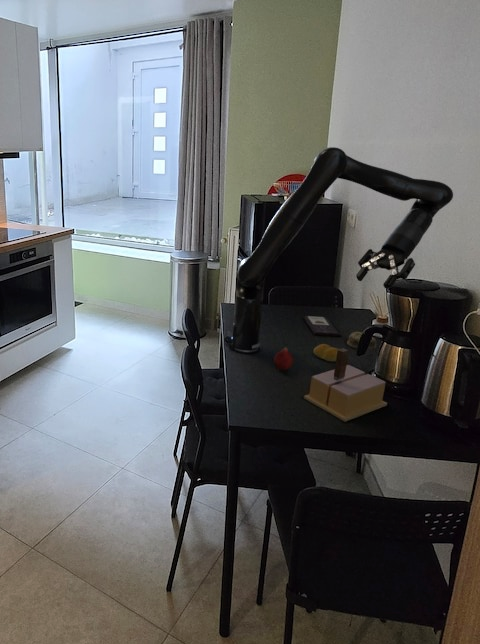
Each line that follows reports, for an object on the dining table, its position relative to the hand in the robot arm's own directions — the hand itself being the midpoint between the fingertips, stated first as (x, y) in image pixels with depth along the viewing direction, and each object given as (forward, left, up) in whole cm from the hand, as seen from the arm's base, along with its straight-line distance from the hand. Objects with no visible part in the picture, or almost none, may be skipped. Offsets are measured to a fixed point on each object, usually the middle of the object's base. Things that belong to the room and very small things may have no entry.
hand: (371, 283), depth 140 cm
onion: (-21, +4, -33) cm, 39 cm away
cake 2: (+9, +33, -33) cm, 47 cm away
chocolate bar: (-3, +48, -33) cm, 58 cm away
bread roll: (-5, +19, -33) cm, 38 cm away
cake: (-5, -12, -33) cm, 35 cm away
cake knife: (-8, -15, -32) cm, 36 cm away
